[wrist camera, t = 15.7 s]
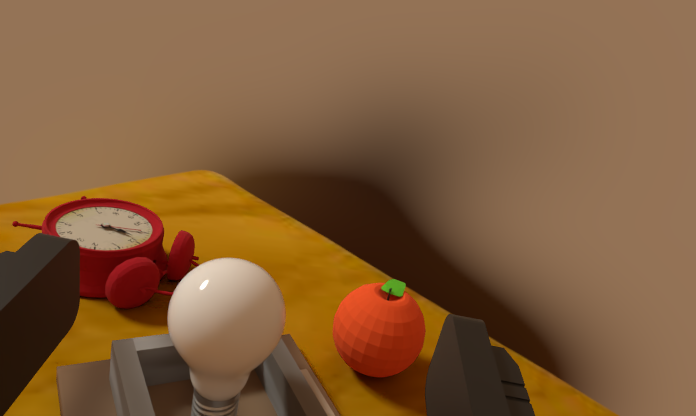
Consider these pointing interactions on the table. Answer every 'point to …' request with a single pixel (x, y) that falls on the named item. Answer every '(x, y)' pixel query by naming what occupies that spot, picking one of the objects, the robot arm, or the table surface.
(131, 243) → the alarm clock
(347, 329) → the clementine
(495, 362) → the robot arm
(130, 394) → the socket stand
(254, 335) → the lightbulb
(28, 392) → the table surface
